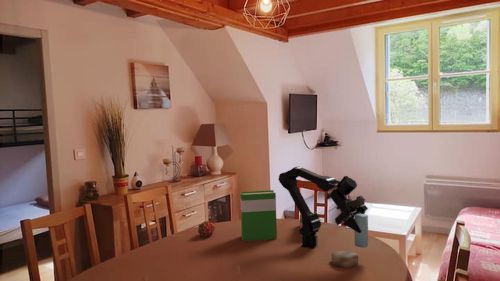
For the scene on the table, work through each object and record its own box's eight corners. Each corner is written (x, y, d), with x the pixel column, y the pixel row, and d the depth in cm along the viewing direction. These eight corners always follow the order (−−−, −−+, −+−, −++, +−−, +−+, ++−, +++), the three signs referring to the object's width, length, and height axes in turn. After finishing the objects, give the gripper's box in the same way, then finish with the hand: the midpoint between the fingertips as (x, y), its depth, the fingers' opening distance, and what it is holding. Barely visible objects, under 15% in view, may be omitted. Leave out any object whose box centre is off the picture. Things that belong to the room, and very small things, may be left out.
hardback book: (274, 234, 199) (273, 190, 198) (276, 238, 192) (275, 193, 190) (241, 236, 198) (240, 191, 196) (242, 241, 190) (241, 194, 188)
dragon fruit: (201, 242, 194) (208, 238, 206) (214, 233, 193) (220, 229, 205) (192, 229, 196) (200, 225, 208) (205, 219, 195) (212, 216, 207)
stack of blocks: (301, 225, 214) (300, 204, 213) (312, 225, 213) (311, 204, 212) (300, 237, 193) (299, 214, 192) (312, 237, 192) (311, 214, 191)
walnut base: (328, 265, 157) (328, 258, 156) (335, 255, 166) (334, 249, 166) (355, 269, 152) (355, 262, 152) (360, 259, 162) (360, 252, 161)
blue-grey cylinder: (352, 245, 159) (352, 216, 158) (357, 242, 163) (357, 213, 162) (365, 248, 156) (365, 218, 155) (369, 244, 160) (369, 214, 159)
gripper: (340, 194, 154) (365, 225, 147) (363, 187, 167) (387, 215, 160) (325, 209, 161) (347, 240, 153) (348, 201, 173) (370, 229, 166)
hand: (364, 230), depth 158 cm, fingers closed on blue-grey cylinder, 5 cm apart
